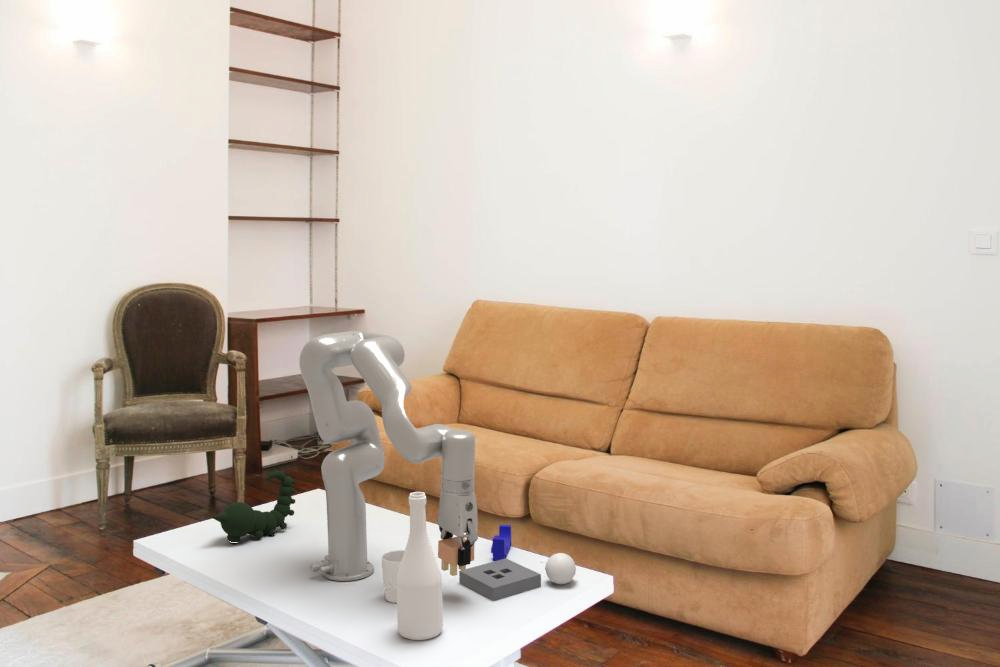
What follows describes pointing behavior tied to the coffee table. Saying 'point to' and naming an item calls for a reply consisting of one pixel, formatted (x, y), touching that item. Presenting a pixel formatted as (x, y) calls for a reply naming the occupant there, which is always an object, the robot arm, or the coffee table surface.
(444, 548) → the tan block
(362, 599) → the coffee table surface
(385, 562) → the white cup
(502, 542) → the cable clip
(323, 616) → the coffee table surface
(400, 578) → the wine bottle
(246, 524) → the toy figurine
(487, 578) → the flat gray square plate
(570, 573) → the white piece
